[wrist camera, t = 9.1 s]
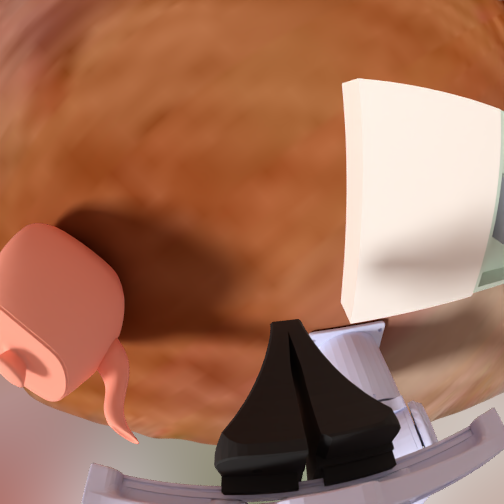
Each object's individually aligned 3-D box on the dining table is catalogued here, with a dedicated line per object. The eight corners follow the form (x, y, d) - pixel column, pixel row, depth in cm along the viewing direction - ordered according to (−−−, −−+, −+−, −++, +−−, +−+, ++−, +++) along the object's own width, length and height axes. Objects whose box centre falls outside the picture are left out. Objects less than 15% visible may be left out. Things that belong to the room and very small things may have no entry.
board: (456, 280, 24) (471, 296, 21) (340, 302, 24) (350, 323, 21) (478, 106, 15) (500, 109, 13) (341, 83, 16) (358, 78, 13)
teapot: (141, 370, 28) (115, 462, 17) (4, 275, 22) (-56, 341, 11) (200, 298, 23) (177, 427, 12) (23, 174, 17) (-78, 229, 6)
